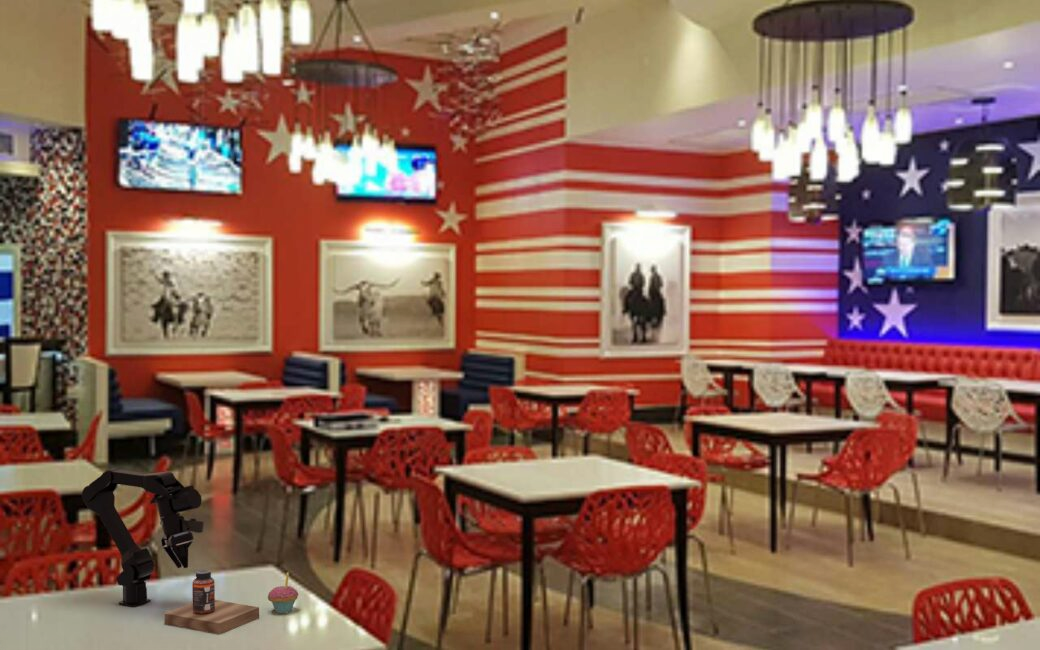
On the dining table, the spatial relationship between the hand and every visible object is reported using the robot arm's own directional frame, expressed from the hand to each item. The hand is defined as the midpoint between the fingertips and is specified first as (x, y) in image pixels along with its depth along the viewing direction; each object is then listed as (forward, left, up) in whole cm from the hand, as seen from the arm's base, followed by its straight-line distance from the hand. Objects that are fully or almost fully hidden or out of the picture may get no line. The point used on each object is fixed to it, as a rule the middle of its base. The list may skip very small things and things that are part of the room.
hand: (182, 567), depth 311 cm
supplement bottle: (+14, -6, -9) cm, 18 cm away
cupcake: (+27, +12, -12) cm, 32 cm away
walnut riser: (+15, -4, -12) cm, 20 cm away
